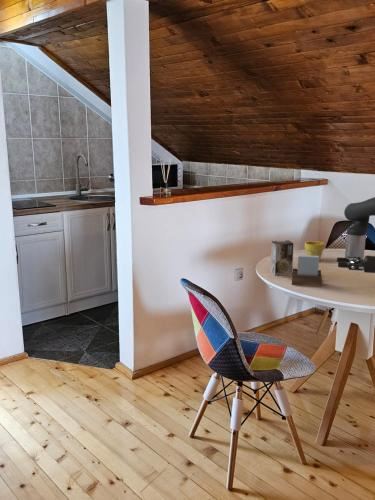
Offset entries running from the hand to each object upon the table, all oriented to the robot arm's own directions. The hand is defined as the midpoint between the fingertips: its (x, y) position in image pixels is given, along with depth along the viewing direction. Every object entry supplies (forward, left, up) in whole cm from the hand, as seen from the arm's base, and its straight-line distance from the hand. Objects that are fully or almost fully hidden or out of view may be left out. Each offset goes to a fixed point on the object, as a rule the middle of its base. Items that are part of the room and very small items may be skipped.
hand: (337, 262), depth 211 cm
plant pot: (-44, -9, -11) cm, 47 cm away
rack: (-2, -13, -11) cm, 17 cm away
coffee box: (-13, -25, -11) cm, 30 cm away
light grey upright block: (0, -13, -10) cm, 16 cm away
